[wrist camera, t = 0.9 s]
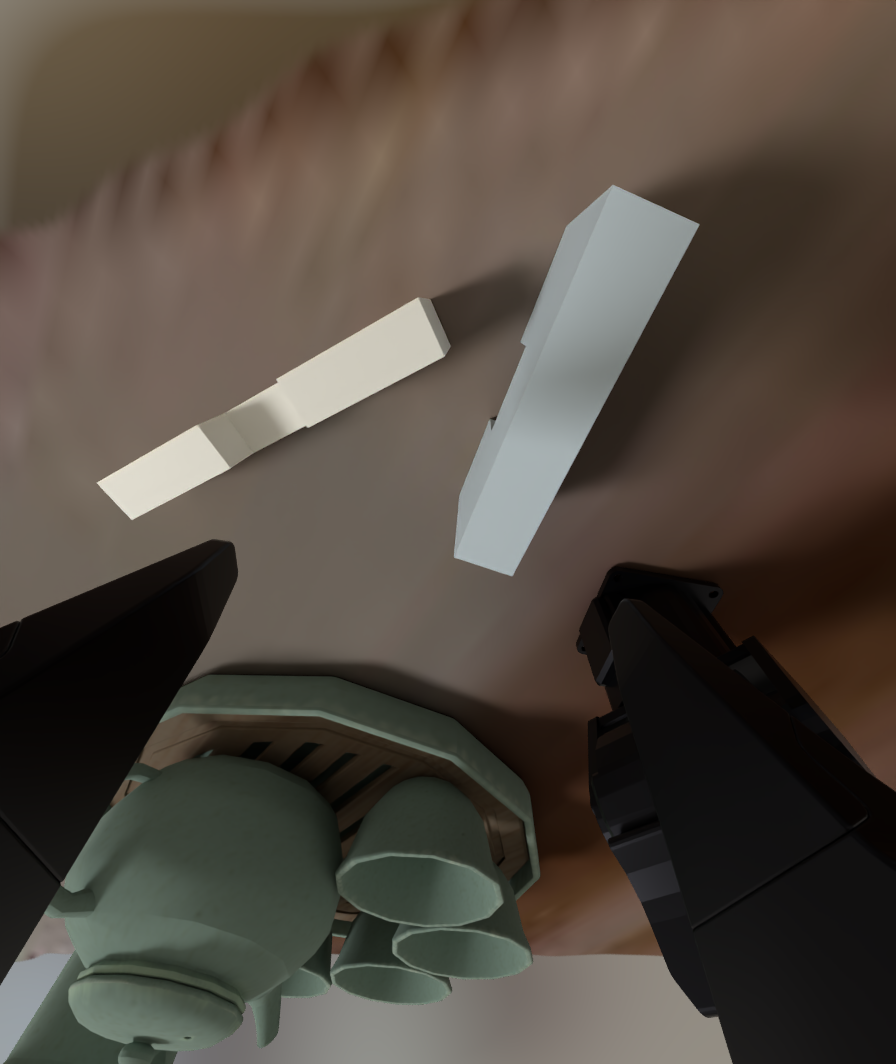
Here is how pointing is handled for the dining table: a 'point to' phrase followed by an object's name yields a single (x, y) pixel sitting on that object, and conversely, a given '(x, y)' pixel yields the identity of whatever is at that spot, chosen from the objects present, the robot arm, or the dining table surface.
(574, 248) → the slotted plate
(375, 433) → the dining table surface
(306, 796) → the tea set
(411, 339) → the slotted rib
